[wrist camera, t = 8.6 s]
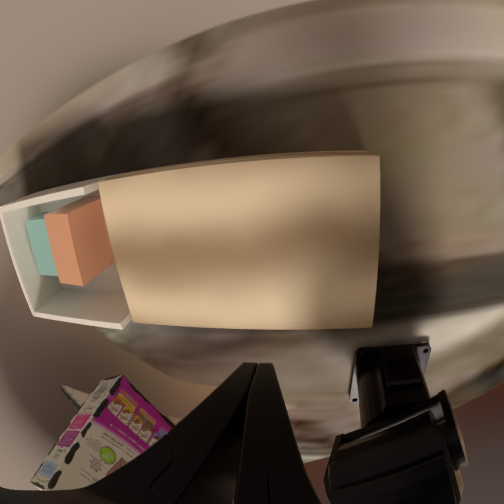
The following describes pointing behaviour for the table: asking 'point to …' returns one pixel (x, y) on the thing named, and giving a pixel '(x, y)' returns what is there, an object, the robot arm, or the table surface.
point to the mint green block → (41, 245)
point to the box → (49, 287)
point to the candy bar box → (102, 436)
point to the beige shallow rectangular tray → (249, 240)
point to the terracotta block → (79, 240)
